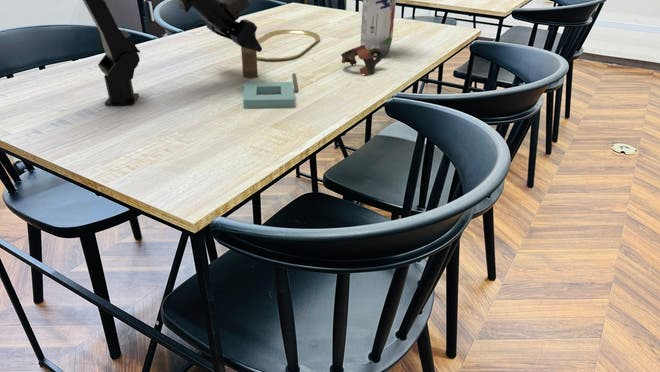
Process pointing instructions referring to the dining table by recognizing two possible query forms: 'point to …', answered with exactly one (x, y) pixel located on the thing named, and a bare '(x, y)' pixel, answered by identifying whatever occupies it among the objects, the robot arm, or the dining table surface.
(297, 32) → the gold oval loop
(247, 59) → the dowel
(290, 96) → the square ring
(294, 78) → the grey thin rod
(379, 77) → the dining table surface
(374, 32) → the juice carton
